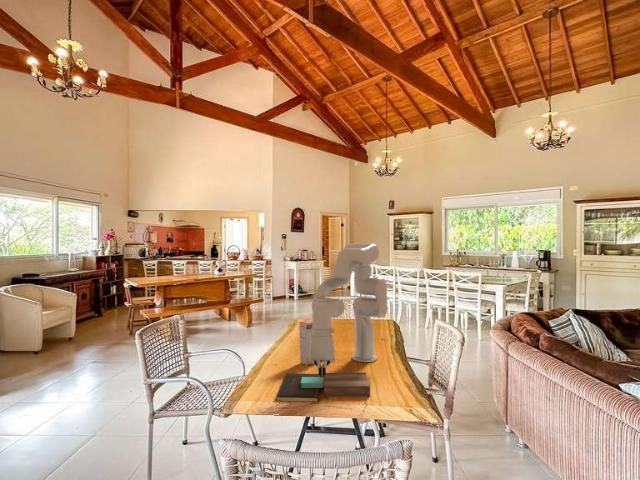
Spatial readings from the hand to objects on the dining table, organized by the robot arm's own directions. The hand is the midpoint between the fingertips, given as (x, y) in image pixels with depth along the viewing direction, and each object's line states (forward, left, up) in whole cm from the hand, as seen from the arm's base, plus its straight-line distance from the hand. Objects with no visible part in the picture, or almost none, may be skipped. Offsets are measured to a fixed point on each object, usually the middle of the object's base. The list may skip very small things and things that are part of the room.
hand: (322, 376), depth 145 cm
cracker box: (-33, -4, -5) cm, 34 cm away
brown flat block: (0, +10, -5) cm, 11 cm away
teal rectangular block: (0, -4, -4) cm, 5 cm away
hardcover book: (-1, -9, -6) cm, 11 cm away
